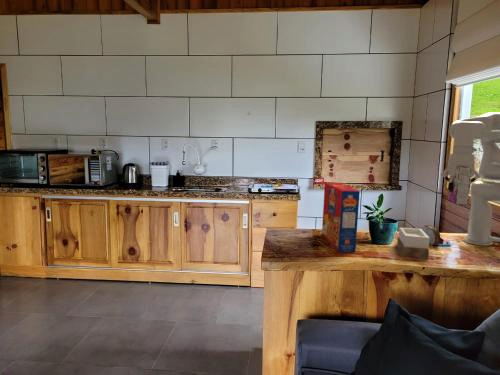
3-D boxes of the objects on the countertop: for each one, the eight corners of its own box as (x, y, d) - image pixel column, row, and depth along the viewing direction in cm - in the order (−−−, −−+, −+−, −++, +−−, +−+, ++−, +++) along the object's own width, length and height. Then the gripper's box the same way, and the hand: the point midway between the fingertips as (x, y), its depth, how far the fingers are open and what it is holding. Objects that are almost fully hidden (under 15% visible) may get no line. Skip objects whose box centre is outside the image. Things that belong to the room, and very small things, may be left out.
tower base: (423, 248, 180) (424, 239, 179) (428, 260, 163) (429, 250, 163) (396, 245, 184) (397, 236, 183) (398, 256, 167) (399, 246, 166)
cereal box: (321, 235, 197) (324, 182, 193) (336, 235, 198) (340, 183, 194) (338, 252, 169) (342, 190, 166) (355, 252, 170) (359, 191, 166)
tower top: (420, 239, 180) (421, 229, 179) (428, 248, 164) (429, 237, 164) (398, 237, 182) (399, 227, 181) (404, 246, 167) (405, 235, 166)
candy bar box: (447, 200, 171) (450, 164, 168) (459, 200, 170) (463, 164, 167) (455, 204, 160) (459, 166, 157) (468, 205, 159) (472, 166, 156)
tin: (440, 247, 181) (442, 230, 180) (433, 247, 181) (435, 230, 180) (426, 239, 196) (428, 223, 195) (420, 238, 196) (422, 223, 195)
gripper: (483, 151, 162) (479, 192, 164) (439, 149, 168) (435, 189, 170) (487, 151, 155) (482, 195, 157) (441, 150, 161) (437, 191, 163)
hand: (458, 191), depth 164 cm, fingers closed on candy bar box, 5 cm apart
